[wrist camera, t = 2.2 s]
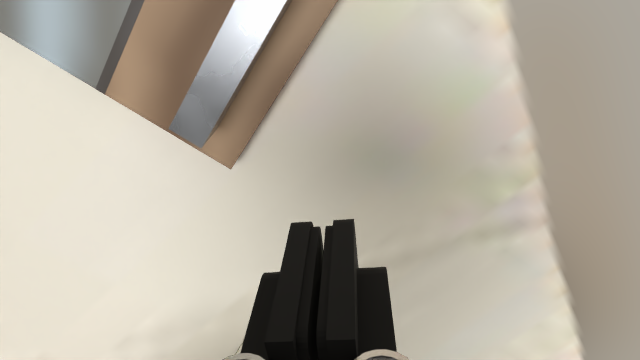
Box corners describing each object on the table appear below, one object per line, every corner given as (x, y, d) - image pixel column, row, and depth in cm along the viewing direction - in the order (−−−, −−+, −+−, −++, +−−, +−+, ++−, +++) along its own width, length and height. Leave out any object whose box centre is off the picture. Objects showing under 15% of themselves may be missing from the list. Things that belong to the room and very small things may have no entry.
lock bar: (311, -141, 19) (305, -160, 16) (361, -101, 20) (363, -113, 17) (181, 108, 25) (160, 126, 22) (222, 133, 26) (206, 154, 23)
